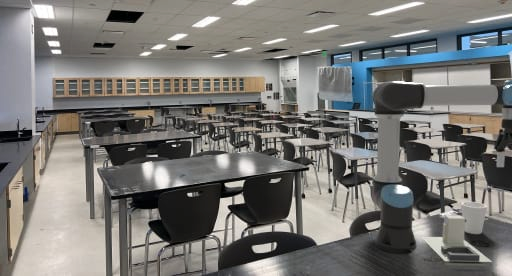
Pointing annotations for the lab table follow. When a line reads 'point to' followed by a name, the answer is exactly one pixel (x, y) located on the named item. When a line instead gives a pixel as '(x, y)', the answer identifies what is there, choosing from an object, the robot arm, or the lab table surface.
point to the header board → (456, 252)
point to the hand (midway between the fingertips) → (509, 170)
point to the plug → (453, 229)
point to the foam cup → (473, 216)
